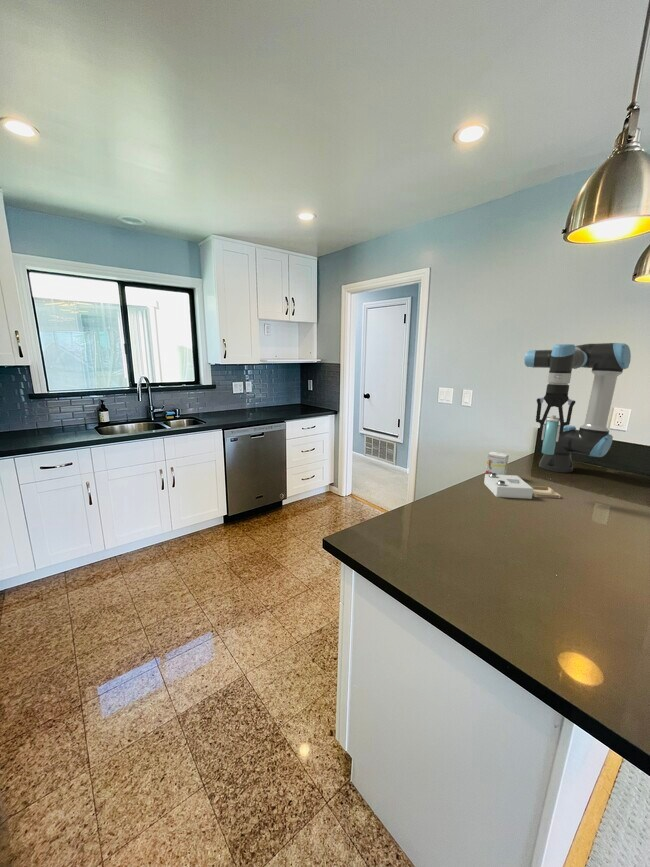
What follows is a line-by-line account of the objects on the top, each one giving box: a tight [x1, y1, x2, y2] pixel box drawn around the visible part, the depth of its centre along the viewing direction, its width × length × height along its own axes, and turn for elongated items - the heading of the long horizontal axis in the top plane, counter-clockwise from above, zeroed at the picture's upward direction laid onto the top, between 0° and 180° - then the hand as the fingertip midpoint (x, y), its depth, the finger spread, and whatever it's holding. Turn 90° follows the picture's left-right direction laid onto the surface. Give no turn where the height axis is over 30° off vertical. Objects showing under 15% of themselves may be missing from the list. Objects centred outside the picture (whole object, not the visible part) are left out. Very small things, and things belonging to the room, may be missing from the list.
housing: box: [483, 473, 533, 500], centre depth 153 cm, size 16×14×5 cm
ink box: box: [485, 451, 509, 475], centre depth 171 cm, size 9×5×12 cm, turn 50°
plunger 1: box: [490, 473, 497, 478], centre depth 158 cm, size 3×3×5 cm
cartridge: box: [541, 415, 560, 455], centre depth 145 cm, size 5×5×16 cm
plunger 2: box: [498, 480, 505, 486], centre depth 148 cm, size 3×3×5 cm
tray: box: [530, 485, 561, 499], centre depth 151 cm, size 10×10×2 cm
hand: (549, 440), depth 146 cm, fingers closed on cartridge, 4 cm apart
